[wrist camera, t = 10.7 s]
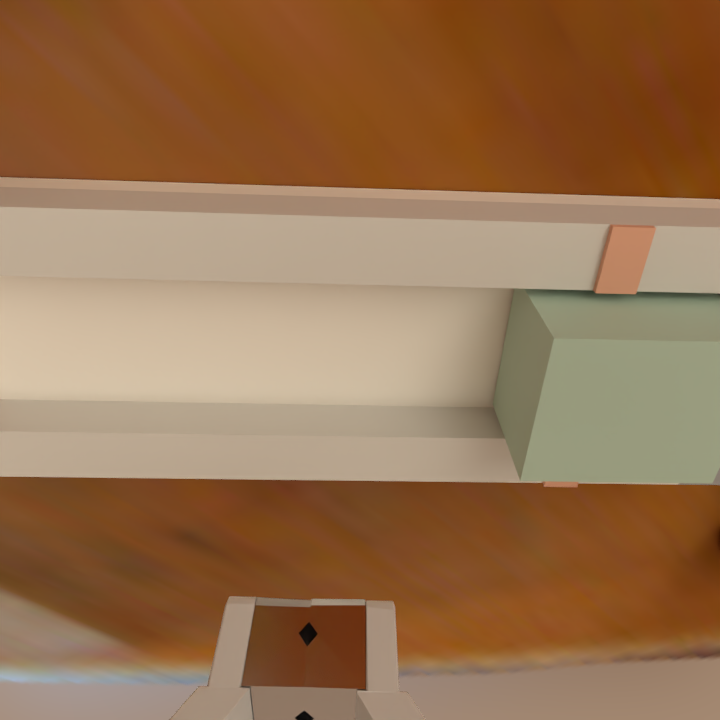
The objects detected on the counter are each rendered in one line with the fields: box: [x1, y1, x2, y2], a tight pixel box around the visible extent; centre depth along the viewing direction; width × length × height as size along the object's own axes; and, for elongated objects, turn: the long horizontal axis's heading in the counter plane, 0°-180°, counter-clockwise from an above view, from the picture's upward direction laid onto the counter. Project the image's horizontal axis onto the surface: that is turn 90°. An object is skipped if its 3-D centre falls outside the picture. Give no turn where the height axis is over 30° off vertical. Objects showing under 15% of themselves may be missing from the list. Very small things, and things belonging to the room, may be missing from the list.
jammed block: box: [493, 288, 720, 483], centre depth 19 cm, size 6×5×4 cm
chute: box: [0, 177, 720, 487], centre depth 20 cm, size 26×10×3 cm, turn 88°
